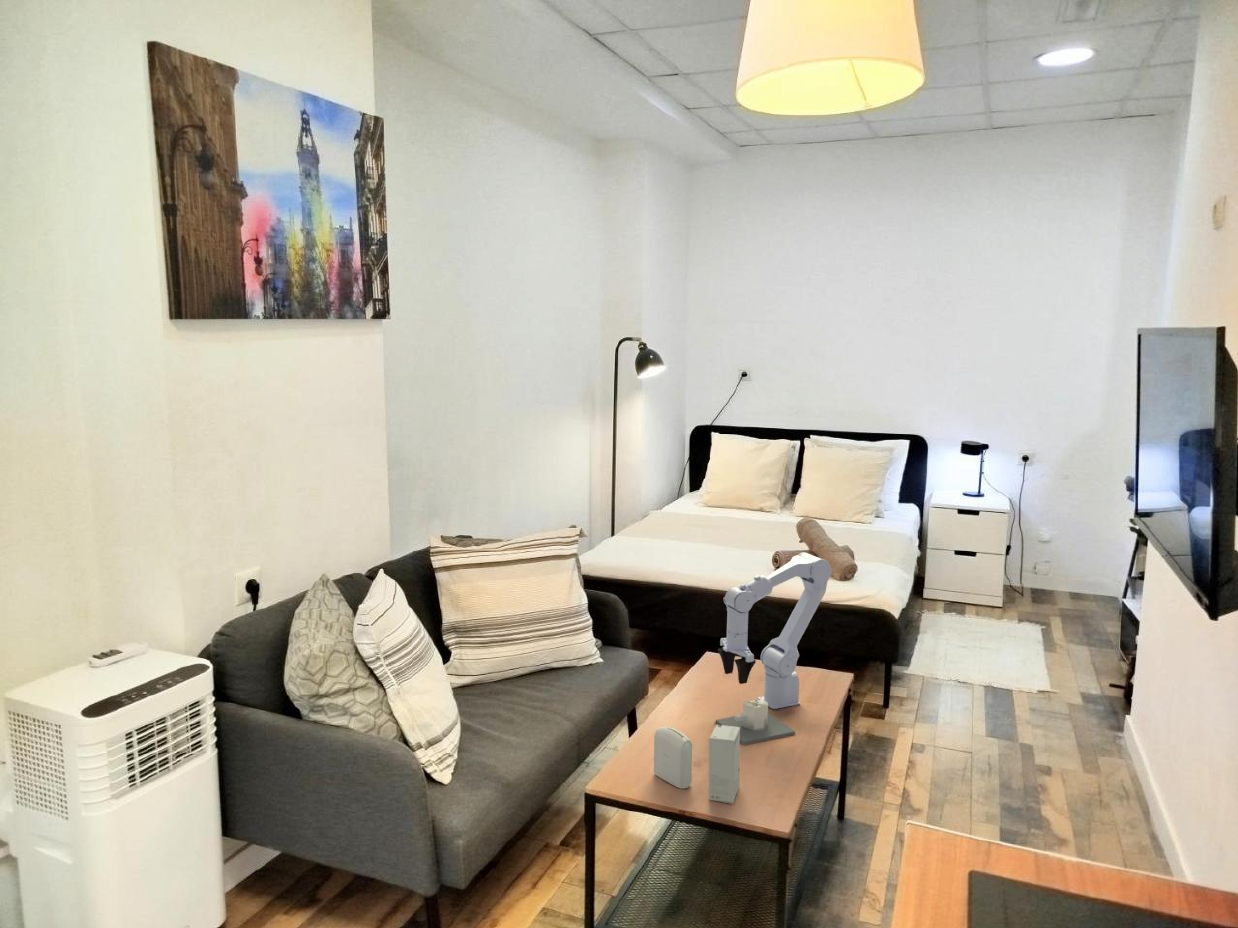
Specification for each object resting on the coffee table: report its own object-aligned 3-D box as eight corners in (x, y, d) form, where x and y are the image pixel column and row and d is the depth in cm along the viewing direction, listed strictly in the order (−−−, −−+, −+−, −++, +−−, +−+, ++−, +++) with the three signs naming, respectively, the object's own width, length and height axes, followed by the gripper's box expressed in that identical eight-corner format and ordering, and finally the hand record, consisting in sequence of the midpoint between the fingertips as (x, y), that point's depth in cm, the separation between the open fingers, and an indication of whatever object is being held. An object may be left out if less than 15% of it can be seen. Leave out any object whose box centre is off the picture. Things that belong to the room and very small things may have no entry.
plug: (762, 719, 234) (762, 698, 233) (770, 725, 230) (770, 704, 229) (731, 725, 230) (732, 704, 229) (739, 731, 226) (740, 710, 226)
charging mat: (765, 713, 240) (765, 709, 240) (795, 734, 228) (795, 730, 227) (715, 722, 234) (715, 719, 234) (743, 744, 221) (743, 741, 221)
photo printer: (651, 773, 206) (651, 724, 204) (664, 768, 208) (665, 720, 207) (680, 791, 198) (681, 740, 196) (694, 785, 200) (695, 735, 199)
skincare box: (733, 804, 192) (735, 741, 190) (706, 800, 194) (708, 737, 192) (739, 786, 200) (741, 725, 198) (714, 782, 202) (715, 722, 200)
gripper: (711, 624, 244) (710, 670, 246) (738, 641, 231) (736, 689, 232) (733, 621, 246) (731, 667, 248) (761, 638, 233) (759, 685, 235)
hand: (735, 678), depth 241 cm, fingers open, 7 cm apart
